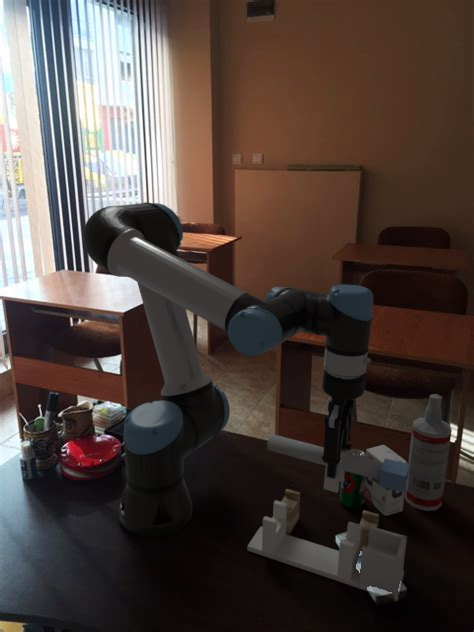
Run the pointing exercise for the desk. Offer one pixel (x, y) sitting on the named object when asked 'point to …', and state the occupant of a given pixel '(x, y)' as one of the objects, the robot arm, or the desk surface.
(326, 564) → the clip rail
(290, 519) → the clamp blocks
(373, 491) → the ink box
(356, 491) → the soda can
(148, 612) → the desk surface
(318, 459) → the grey rod with block
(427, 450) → the white nozzle bottle
